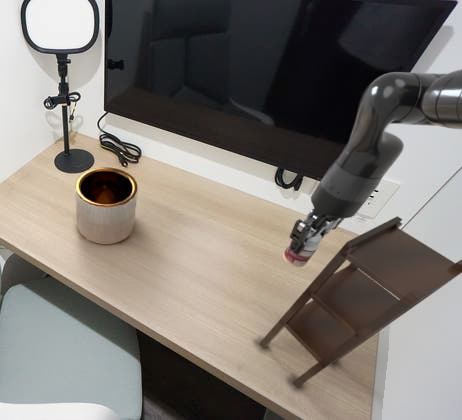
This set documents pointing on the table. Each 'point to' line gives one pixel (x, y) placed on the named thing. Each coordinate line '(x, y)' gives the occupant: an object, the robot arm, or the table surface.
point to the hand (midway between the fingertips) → (302, 246)
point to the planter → (105, 204)
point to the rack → (363, 293)
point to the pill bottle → (302, 252)
